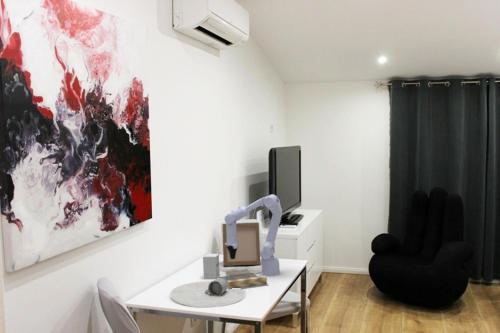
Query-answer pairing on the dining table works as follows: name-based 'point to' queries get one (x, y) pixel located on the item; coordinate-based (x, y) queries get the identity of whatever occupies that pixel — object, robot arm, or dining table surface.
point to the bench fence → (247, 282)
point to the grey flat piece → (238, 274)
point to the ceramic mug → (217, 286)
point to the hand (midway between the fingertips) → (232, 258)
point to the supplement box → (211, 266)
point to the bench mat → (246, 287)
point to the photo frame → (243, 245)
